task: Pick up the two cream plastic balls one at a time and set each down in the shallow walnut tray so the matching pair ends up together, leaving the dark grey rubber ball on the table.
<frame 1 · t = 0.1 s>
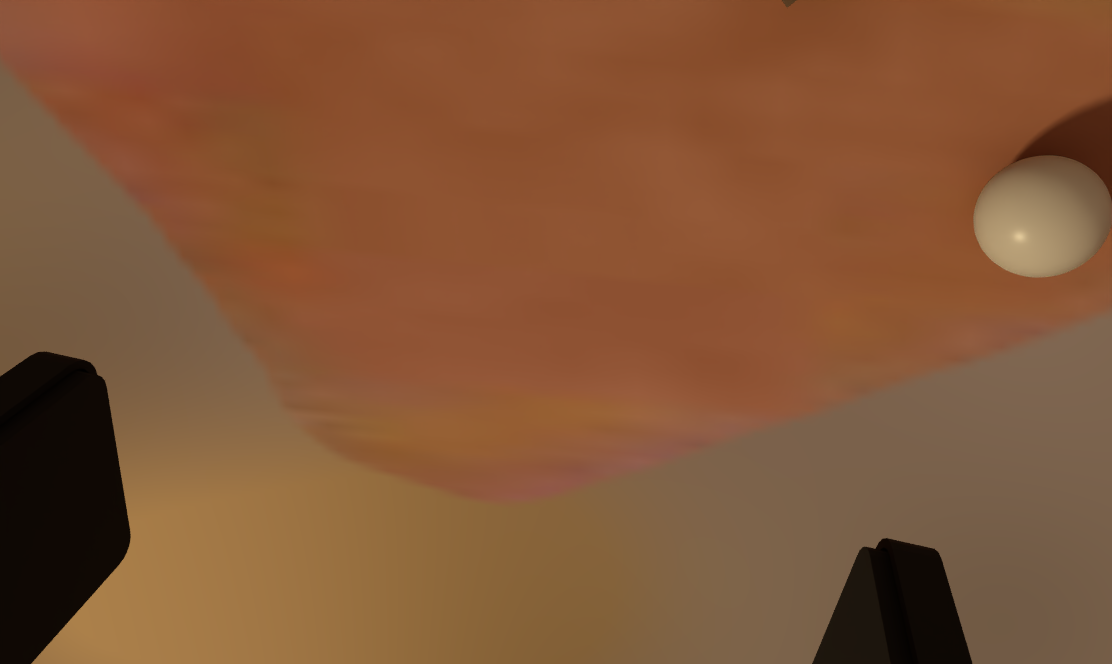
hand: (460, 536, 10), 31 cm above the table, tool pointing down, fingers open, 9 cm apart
cream ball B: (1023, 196, 37), on the table
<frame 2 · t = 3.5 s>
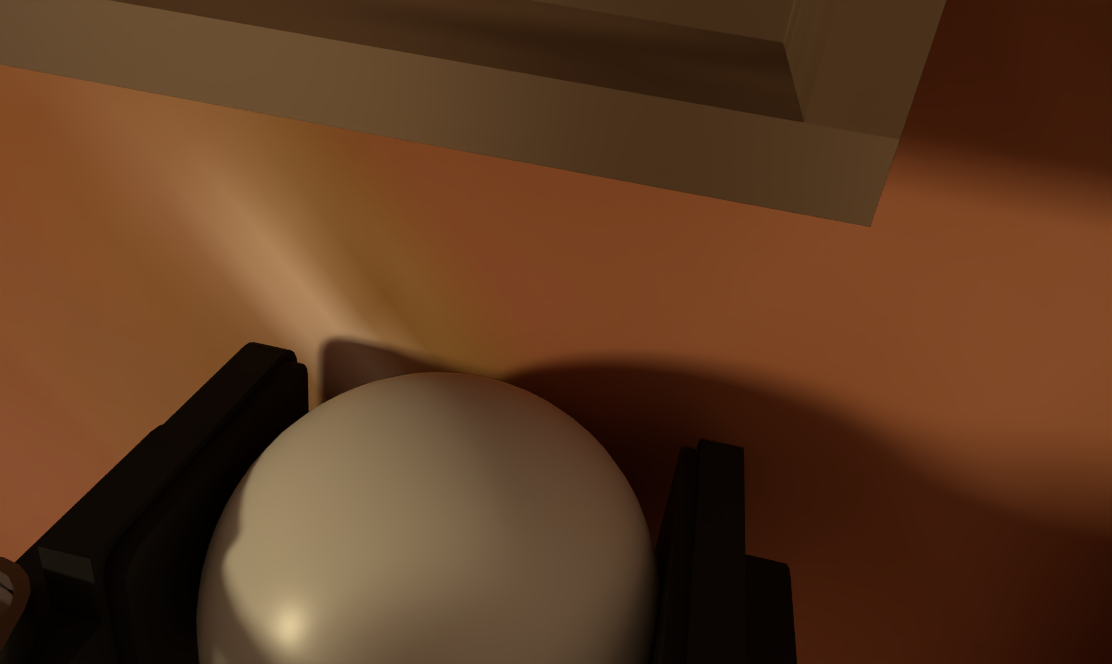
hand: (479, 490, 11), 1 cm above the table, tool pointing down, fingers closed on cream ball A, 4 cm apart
cream ball A: (492, 460, 12), on the table, touching gripper
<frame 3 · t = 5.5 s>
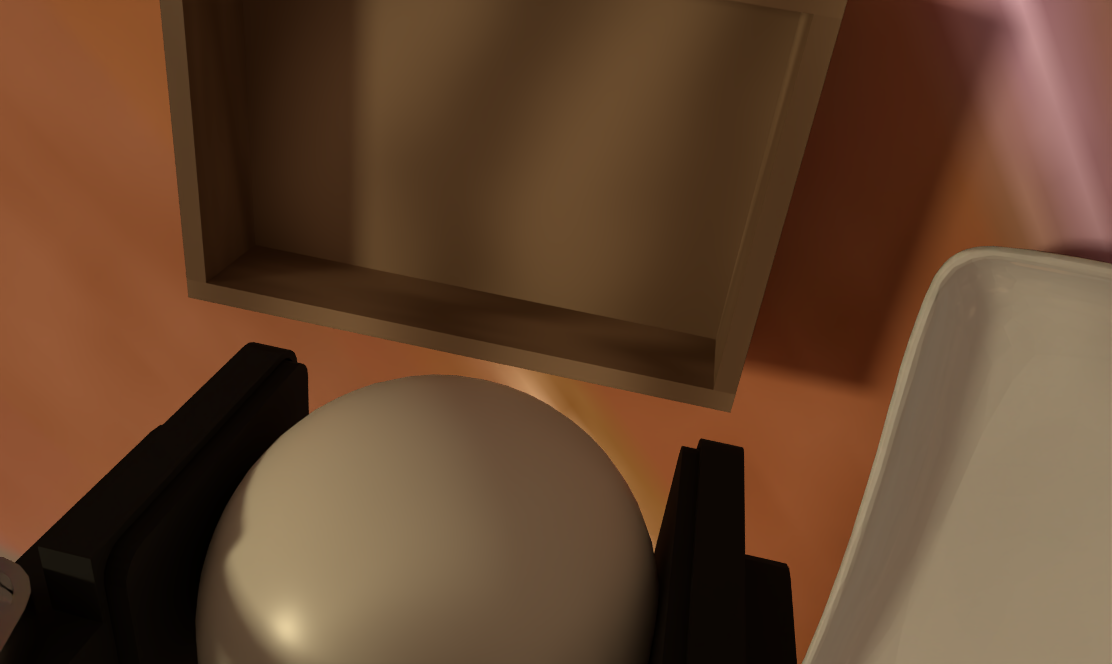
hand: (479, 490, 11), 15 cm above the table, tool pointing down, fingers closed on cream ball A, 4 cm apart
cream ball A: (491, 462, 12), point 14 cm above the table, touching gripper
tray: (498, 131, 24), on the table
when the fingers open (4 cm above the table, at t = 7.5 s): cream ball A drops 3 cm, resting on tray.
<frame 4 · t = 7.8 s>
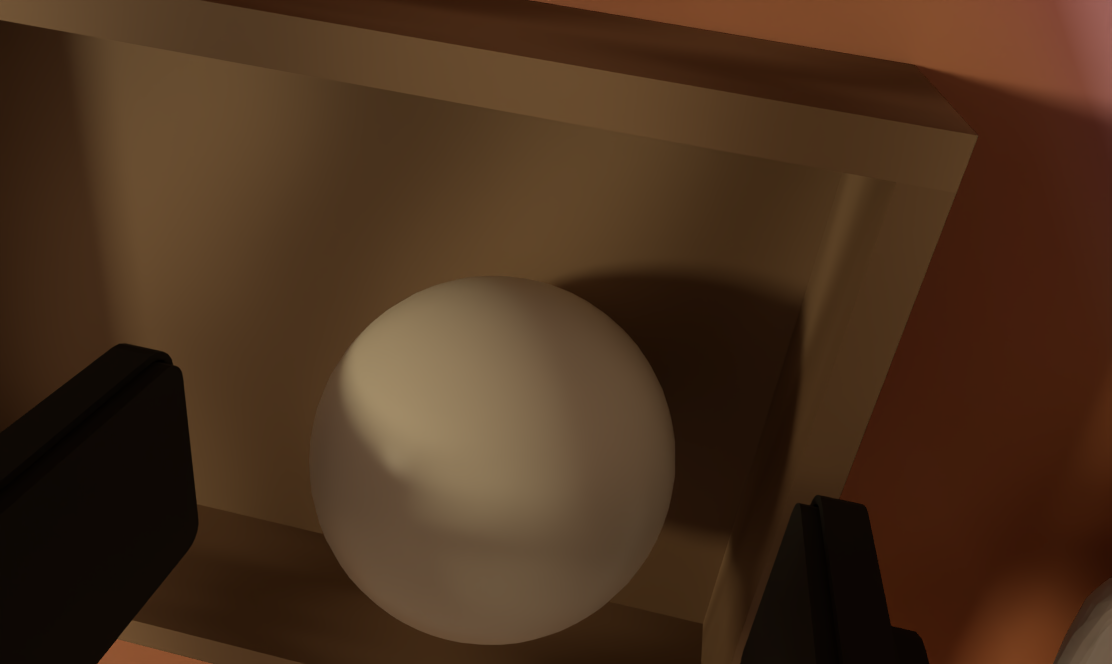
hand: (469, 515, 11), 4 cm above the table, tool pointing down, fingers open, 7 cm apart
cream ball A: (532, 364, 14), point 1 cm above the table, touching tray
tray: (345, 305, 15), on the table
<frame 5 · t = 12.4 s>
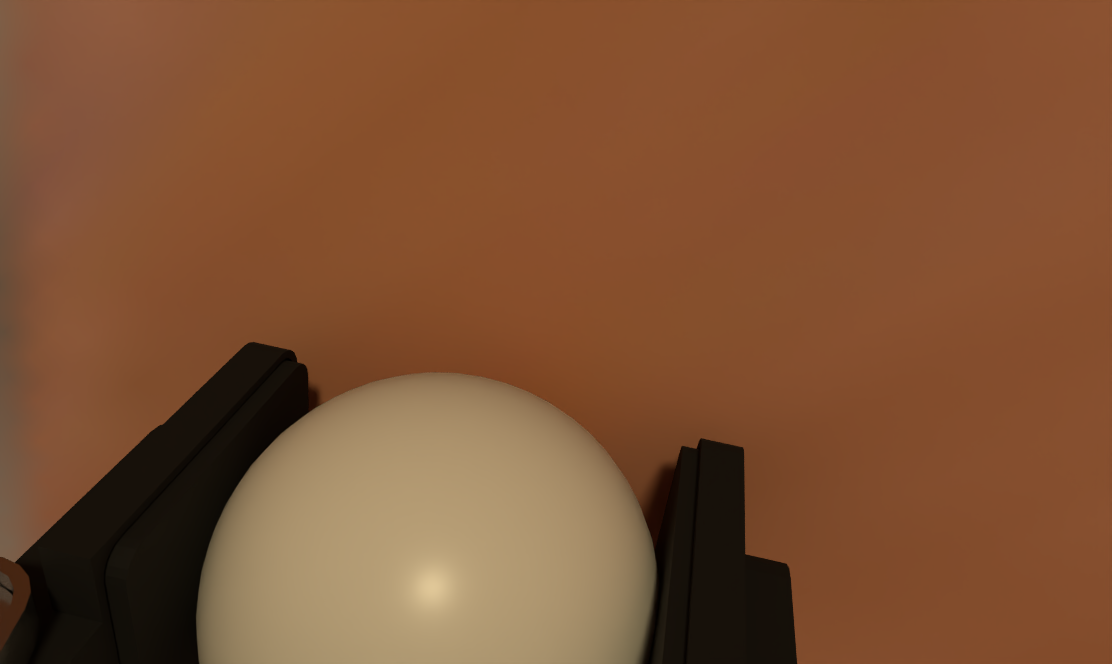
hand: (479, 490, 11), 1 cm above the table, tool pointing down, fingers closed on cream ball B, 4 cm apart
cream ball B: (492, 460, 12), on the table, touching gripper
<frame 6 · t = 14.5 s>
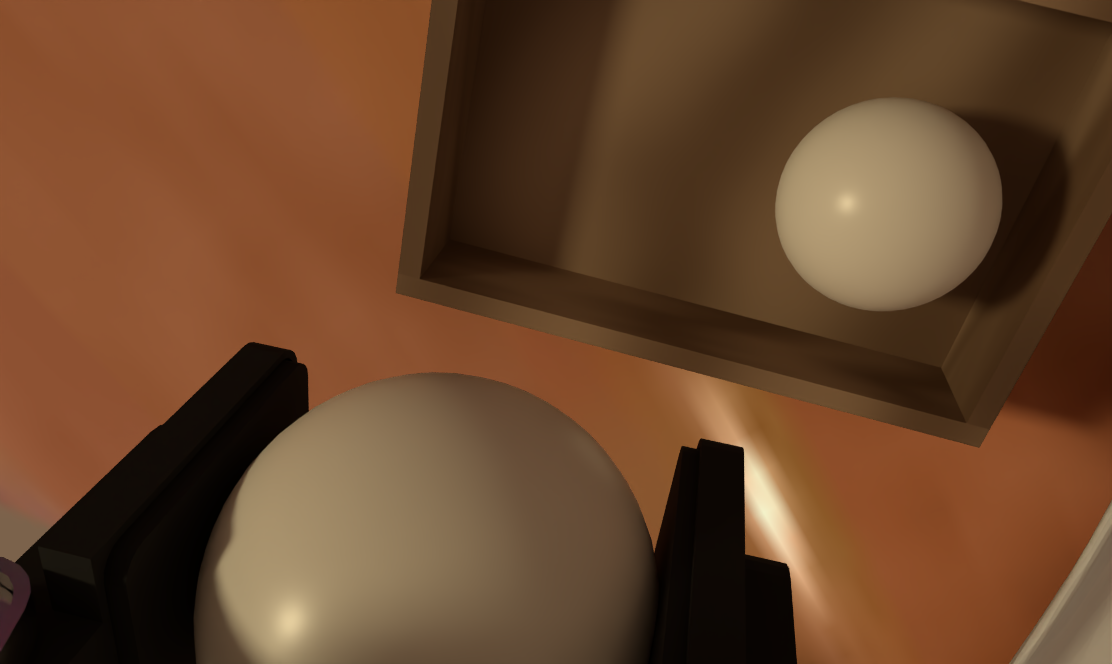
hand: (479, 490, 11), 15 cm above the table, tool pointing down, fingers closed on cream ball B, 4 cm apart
cream ball A: (873, 175, 22), point 1 cm above the table, touching tray
tray: (742, 136, 23), on the table
cream ball B: (491, 461, 12), point 14 cm above the table, touching gripper
when the fingers open (4 cm above the table, at t = 16.9 s): cream ball B drops 3 cm, resting on tray.
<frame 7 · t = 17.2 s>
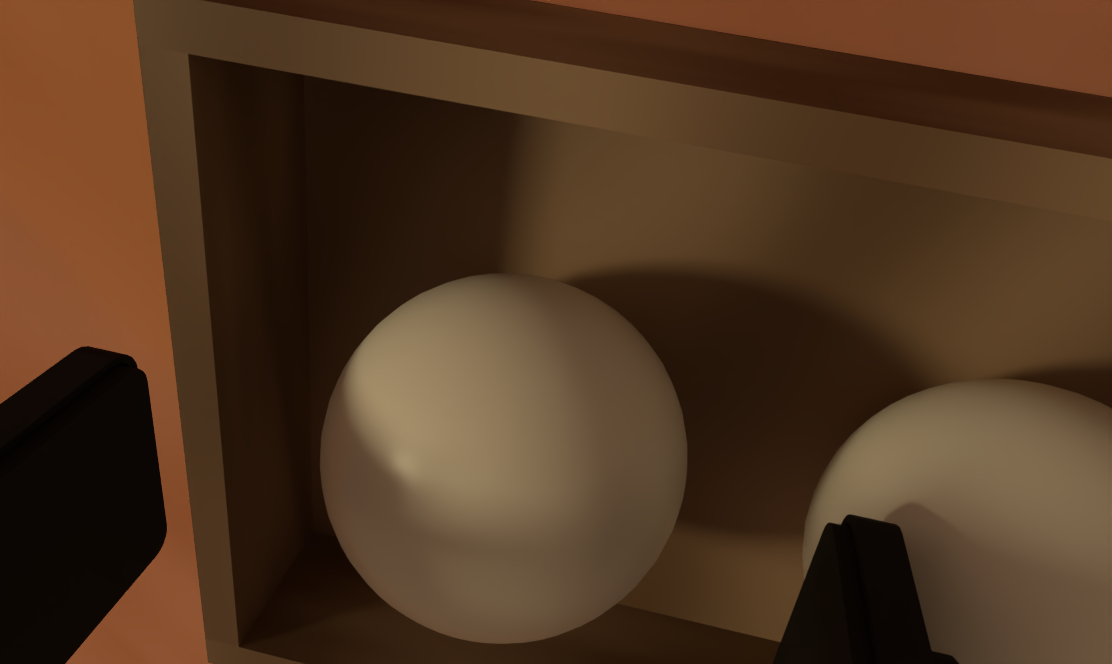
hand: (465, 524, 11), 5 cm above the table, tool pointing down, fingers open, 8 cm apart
cream ball A: (965, 455, 13), point 1 cm above the table, touching tray
tray: (742, 388, 14), on the table
cream ball B: (530, 360, 14), point 1 cm above the table, touching tray
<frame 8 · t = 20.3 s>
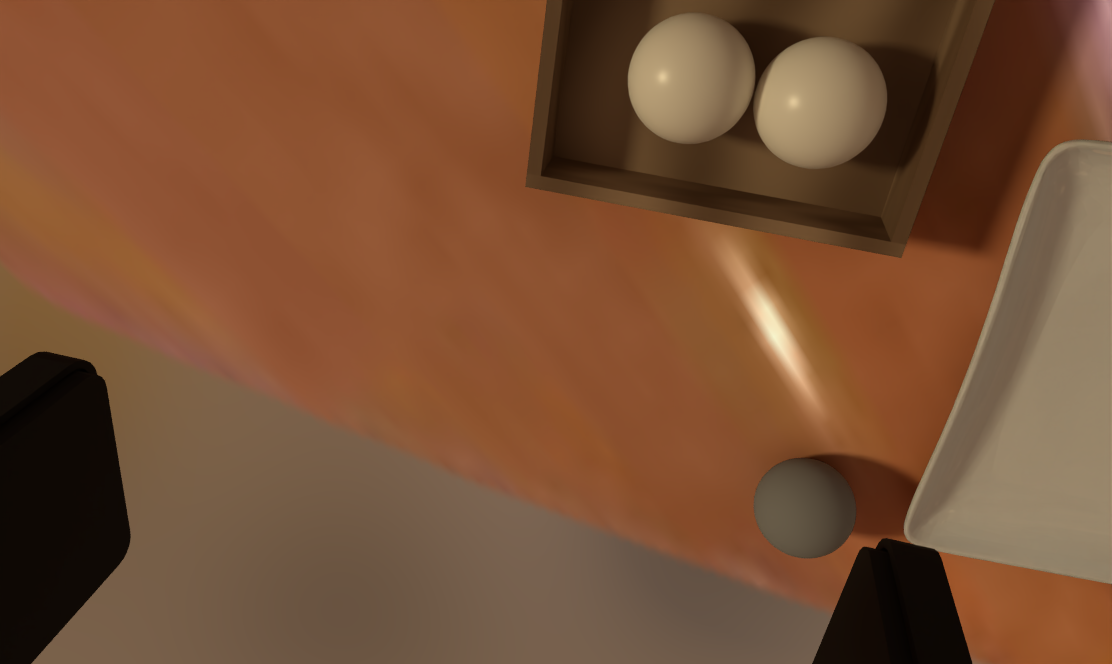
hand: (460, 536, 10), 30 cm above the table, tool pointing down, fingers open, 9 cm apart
cream ball A: (823, 90, 35), point 1 cm above the table, tilted 9°, touching tray
tray: (739, 72, 36), on the table
grey ball: (800, 477, 45), on the table
cream ball B: (658, 62, 36), point 1 cm above the table, tilted 36°, touching tray
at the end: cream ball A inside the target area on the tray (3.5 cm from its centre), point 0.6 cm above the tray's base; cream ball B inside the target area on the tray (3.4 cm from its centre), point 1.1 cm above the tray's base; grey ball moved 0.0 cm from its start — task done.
